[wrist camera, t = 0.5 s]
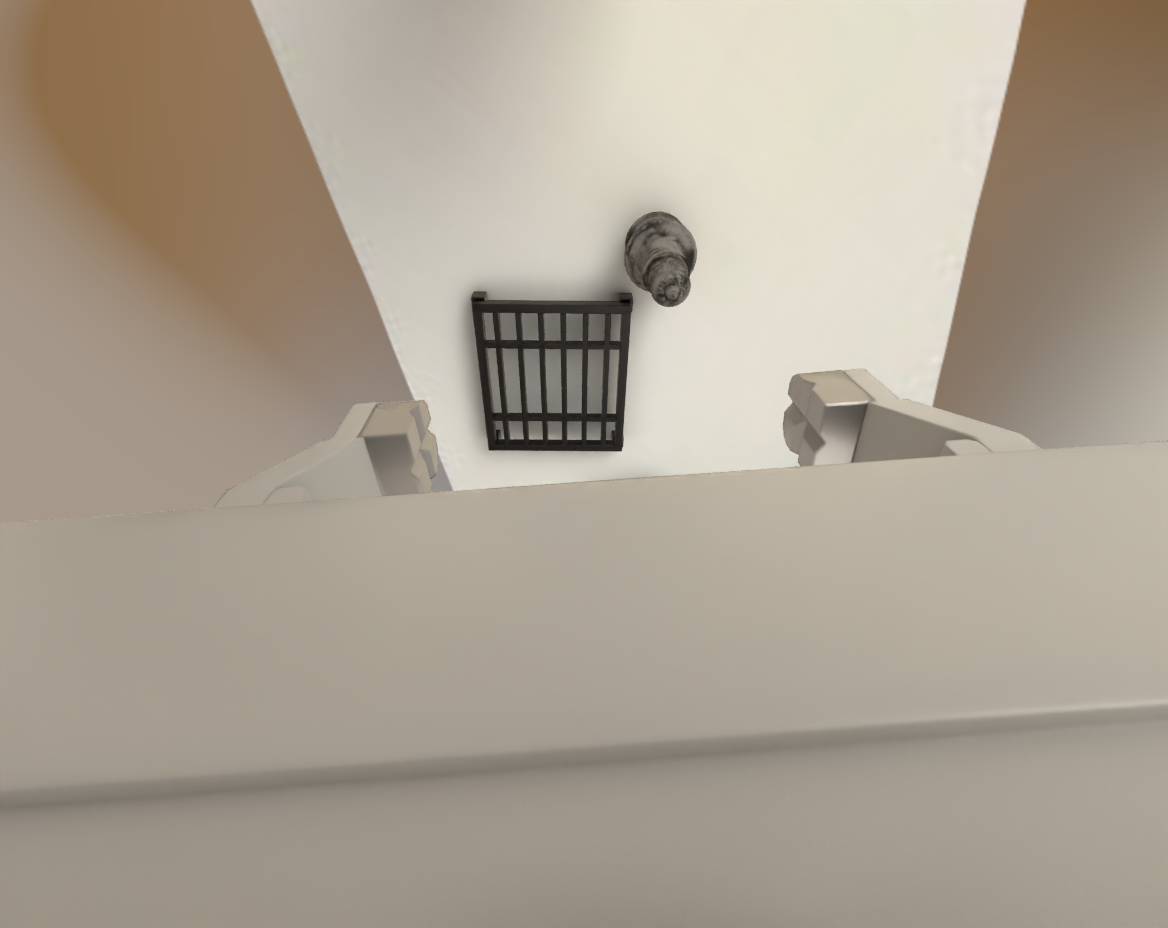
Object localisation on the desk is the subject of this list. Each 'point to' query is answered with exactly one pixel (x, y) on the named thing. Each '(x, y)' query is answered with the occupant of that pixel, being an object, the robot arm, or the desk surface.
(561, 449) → the grate
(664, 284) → the grey stone turned piece
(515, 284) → the desk surface
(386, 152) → the desk surface
